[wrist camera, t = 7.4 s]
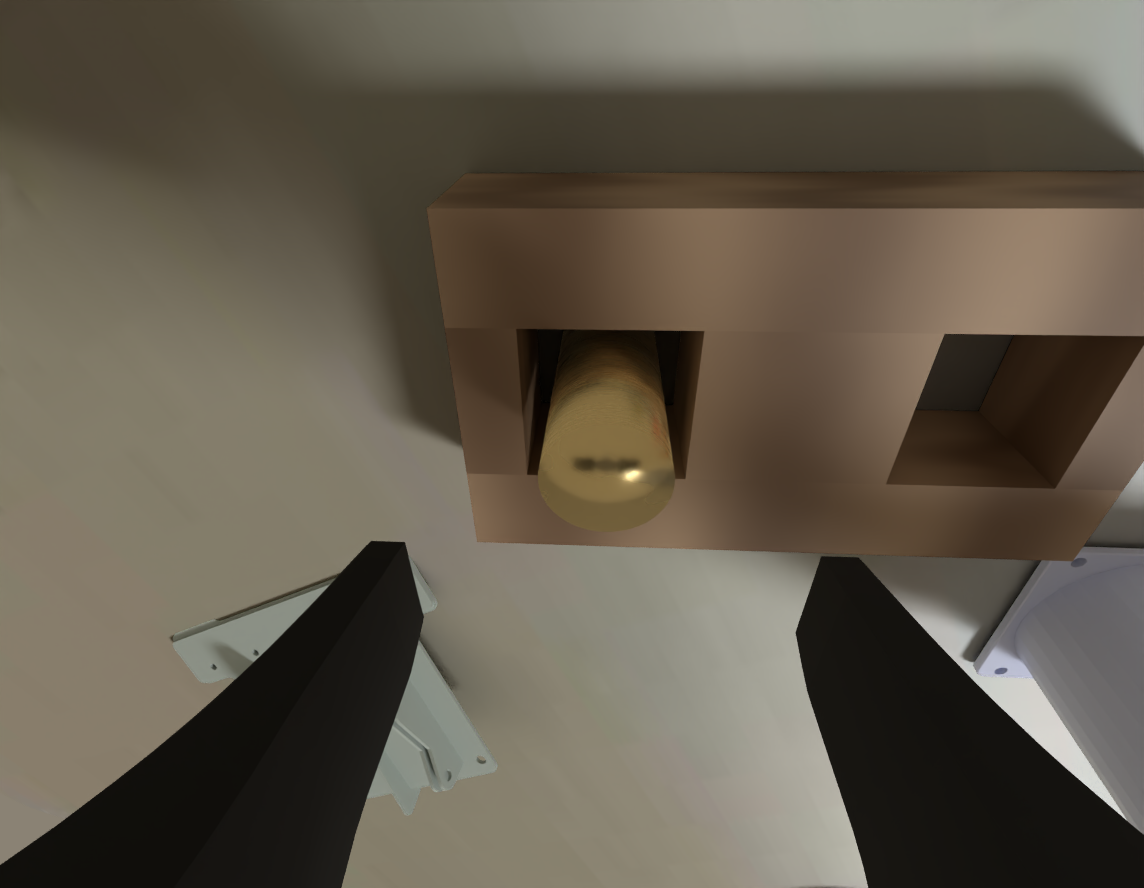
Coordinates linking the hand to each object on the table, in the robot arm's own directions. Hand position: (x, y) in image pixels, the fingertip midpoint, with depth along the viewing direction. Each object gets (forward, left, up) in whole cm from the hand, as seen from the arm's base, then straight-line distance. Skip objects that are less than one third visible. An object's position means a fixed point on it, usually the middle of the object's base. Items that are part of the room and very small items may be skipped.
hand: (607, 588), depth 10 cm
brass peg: (0, 0, -10) cm, 10 cm away
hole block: (-5, 0, -10) cm, 11 cm away
